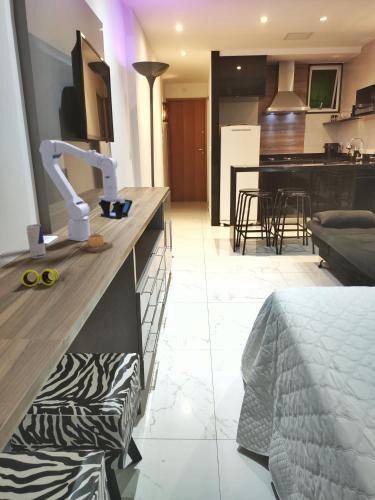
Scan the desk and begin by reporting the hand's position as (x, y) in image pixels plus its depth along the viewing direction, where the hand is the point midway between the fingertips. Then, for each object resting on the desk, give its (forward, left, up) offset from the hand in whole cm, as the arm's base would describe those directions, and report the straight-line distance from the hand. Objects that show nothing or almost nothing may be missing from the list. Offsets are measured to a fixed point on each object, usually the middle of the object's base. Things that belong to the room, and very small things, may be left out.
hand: (113, 218), depth 158 cm
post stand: (+4, -15, -9) cm, 18 cm away
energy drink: (-9, -33, -10) cm, 35 cm away
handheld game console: (-38, +43, -10) cm, 58 cm away
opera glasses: (+16, -51, -10) cm, 54 cm away
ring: (+4, -15, -8) cm, 17 cm away
